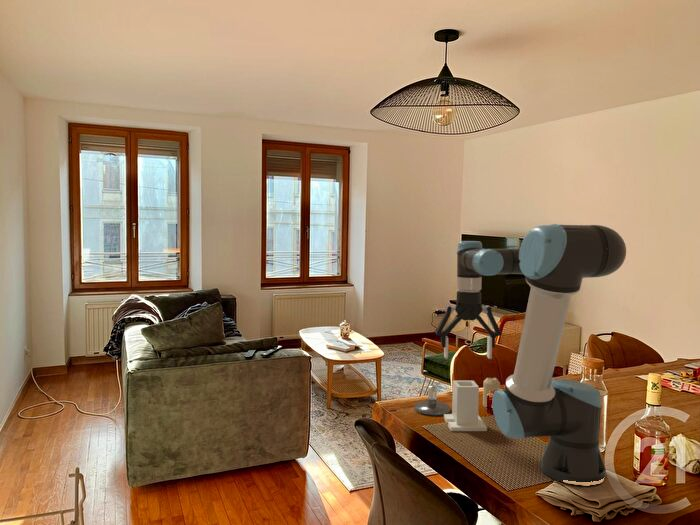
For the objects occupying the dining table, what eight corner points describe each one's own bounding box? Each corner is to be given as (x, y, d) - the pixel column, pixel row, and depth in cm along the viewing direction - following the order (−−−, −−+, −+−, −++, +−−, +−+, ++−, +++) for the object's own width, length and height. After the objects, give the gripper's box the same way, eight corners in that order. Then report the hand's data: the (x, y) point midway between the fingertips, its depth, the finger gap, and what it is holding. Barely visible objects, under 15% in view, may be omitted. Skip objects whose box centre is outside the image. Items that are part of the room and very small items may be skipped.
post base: (453, 415, 173) (454, 392, 172) (416, 416, 173) (417, 392, 172) (446, 403, 185) (446, 380, 184) (411, 403, 185) (412, 380, 184)
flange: (477, 417, 172) (478, 378, 171) (486, 431, 161) (488, 389, 160) (443, 417, 171) (444, 378, 170) (450, 431, 160) (451, 389, 159)
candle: (497, 403, 185) (498, 375, 184) (500, 409, 179) (501, 380, 178) (481, 403, 185) (482, 375, 184) (484, 408, 180) (484, 380, 179)
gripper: (505, 289, 168) (503, 354, 170) (427, 288, 168) (426, 354, 170) (512, 292, 161) (510, 360, 162) (430, 291, 161) (429, 360, 162)
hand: (467, 357), depth 166 cm, fingers open, 13 cm apart
